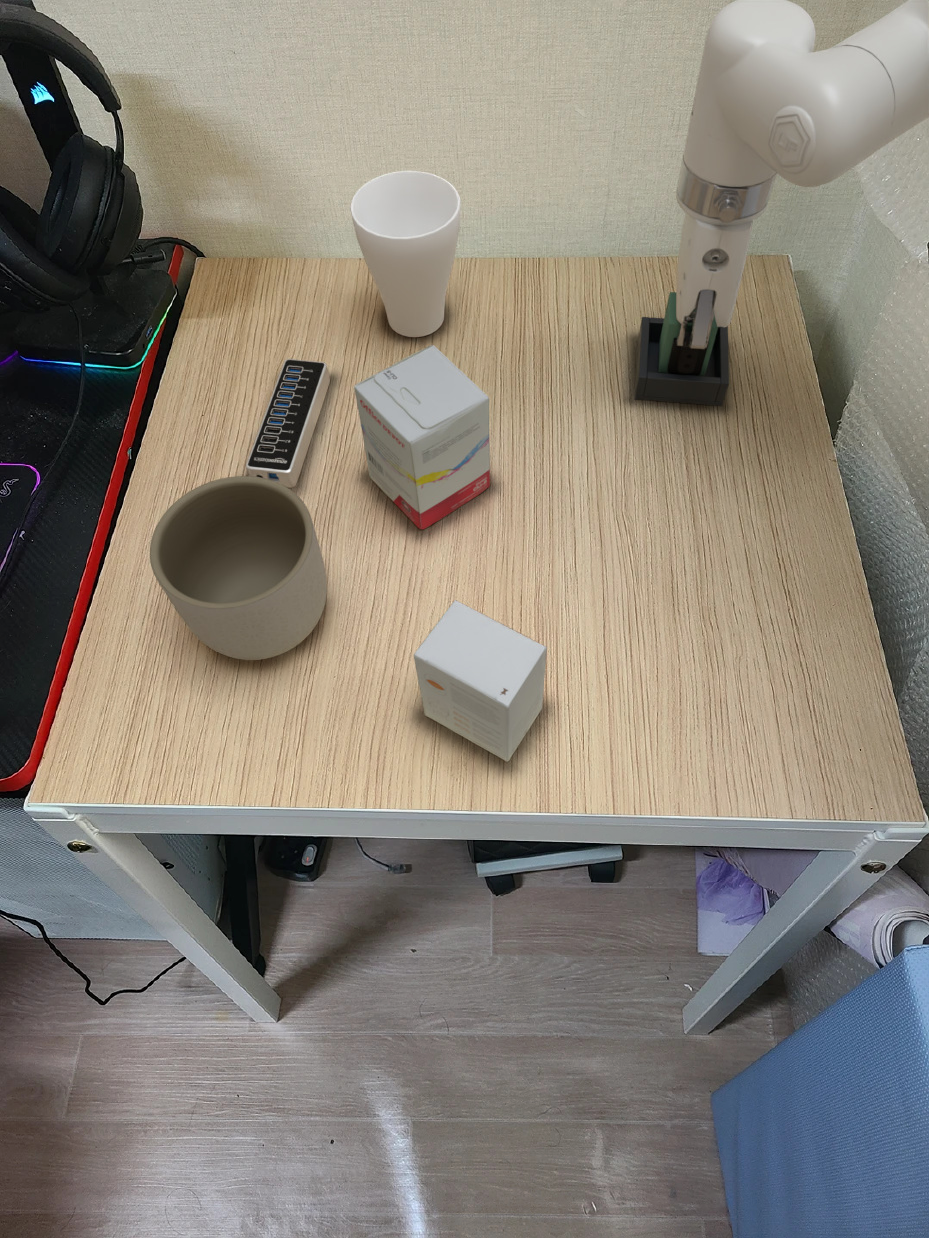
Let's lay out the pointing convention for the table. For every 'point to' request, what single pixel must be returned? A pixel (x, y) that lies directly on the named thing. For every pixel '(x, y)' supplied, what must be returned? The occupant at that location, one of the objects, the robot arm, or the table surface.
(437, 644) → the small box
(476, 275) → the table surface
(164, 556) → the planter
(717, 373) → the socket
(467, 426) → the ink box
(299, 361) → the multiport hub
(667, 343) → the pad block
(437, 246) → the cup
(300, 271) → the table surface
